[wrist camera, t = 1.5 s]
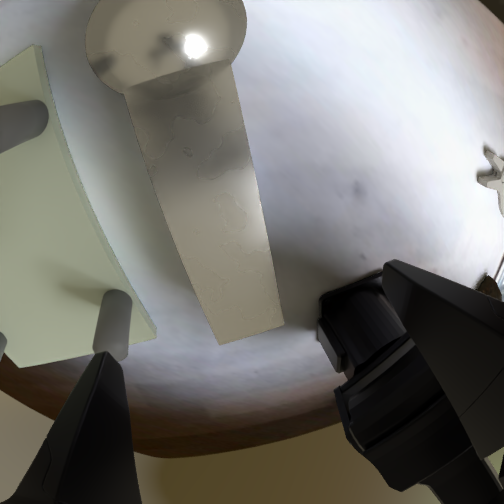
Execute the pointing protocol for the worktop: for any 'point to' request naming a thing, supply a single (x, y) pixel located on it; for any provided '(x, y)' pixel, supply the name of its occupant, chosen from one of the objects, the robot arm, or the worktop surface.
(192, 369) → the worktop surface
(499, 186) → the pliers
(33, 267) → the peg board
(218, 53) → the round-ended glossy bar
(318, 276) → the worktop surface
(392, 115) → the worktop surface
